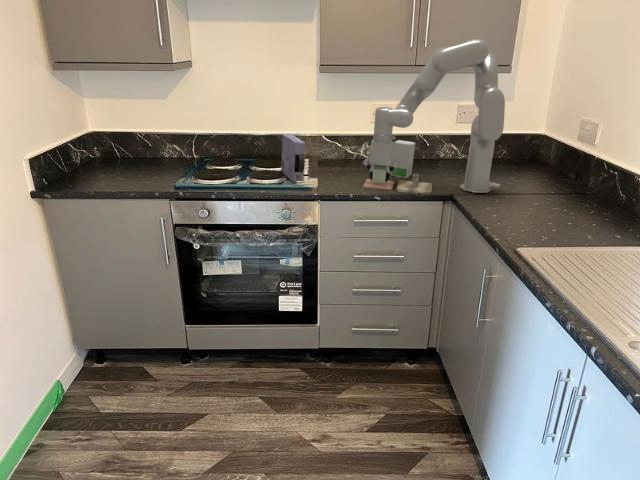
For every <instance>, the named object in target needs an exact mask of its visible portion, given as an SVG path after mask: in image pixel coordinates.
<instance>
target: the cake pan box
mask: <svg viewBox="0 0 640 480" xmlns="http://www.w3.org/2000/svg"><path fill="white" fill-rule="evenodd" d="M305 161H306V142H305V141H303V140H301V139H300V138H298V137H297V136H295V135H294V134H292V133H283V134H282V140H281V161H280V162H281V164H280V165H281V167H280V171H281V170H282V171H283V173H284V174H285V175H286V176H287V177H288V178H289V179H288V178H287V177H286V176H285V175H284V174H283V173H282V174H283V175H284V176H285V177H286V178H287V179H288V180H290V181H291V180H292V181H293V182H297V181H303V182H304V172H305ZM292 181H291V182H292ZM293 182H292V183H293Z"/></svg>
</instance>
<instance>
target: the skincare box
mask: <svg viewBox="0 0 640 480" xmlns="http://www.w3.org/2000/svg"><path fill="white" fill-rule="evenodd" d="M393 143H394V159H395V160H396V161H397V163H398V164H399V165H398V167H396V168H395V169H394V170H392V171H391V172H390V176H391V177H395V178H401V177H403V178H402V179H406V178H407V179H408V178H410V177H411V176H412V170H413V165H414V163H413V162H414V156H415V149H416V142H414V141H408V140H401V139H398V140H396V141H393ZM392 166H394V163H392V165H391V167H392ZM410 175H411V176H410ZM409 176H410V177H409Z"/></svg>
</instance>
